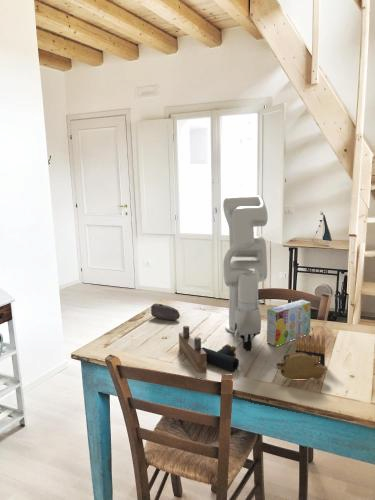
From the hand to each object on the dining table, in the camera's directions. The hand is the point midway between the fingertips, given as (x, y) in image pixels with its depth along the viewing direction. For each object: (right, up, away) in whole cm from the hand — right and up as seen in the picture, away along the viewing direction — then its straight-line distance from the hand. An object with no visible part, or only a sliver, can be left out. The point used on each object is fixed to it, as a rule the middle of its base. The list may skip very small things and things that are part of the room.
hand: (247, 349), depth 158 cm
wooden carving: (+15, -6, -20) cm, 25 cm away
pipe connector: (-10, -4, -6) cm, 12 cm away
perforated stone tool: (-34, +5, +39) cm, 52 cm away
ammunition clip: (+22, -3, -9) cm, 24 cm away
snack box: (+20, +1, +14) cm, 24 cm away
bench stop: (-22, -3, -4) cm, 22 cm away
